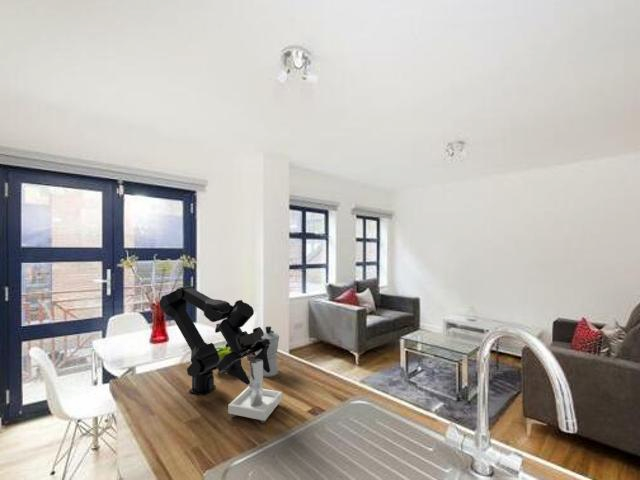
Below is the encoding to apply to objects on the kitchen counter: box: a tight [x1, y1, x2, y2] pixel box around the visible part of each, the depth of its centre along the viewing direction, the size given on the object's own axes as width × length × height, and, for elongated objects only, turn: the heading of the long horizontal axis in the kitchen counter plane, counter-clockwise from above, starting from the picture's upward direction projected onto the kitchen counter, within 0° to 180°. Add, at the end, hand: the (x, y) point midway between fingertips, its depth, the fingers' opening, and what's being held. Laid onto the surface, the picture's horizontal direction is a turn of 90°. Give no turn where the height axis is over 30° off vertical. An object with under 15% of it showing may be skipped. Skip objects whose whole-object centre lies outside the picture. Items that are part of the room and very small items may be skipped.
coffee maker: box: [262, 326, 280, 378], centre depth 125 cm, size 15×9×18 cm, turn 179°
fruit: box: [215, 346, 232, 373], centre depth 125 cm, size 9×9×10 cm
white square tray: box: [227, 385, 283, 424], centre depth 97 cm, size 12×12×4 cm
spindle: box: [249, 359, 264, 407], centre depth 97 cm, size 4×4×13 cm
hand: (259, 377), depth 96 cm, fingers open, 9 cm apart
